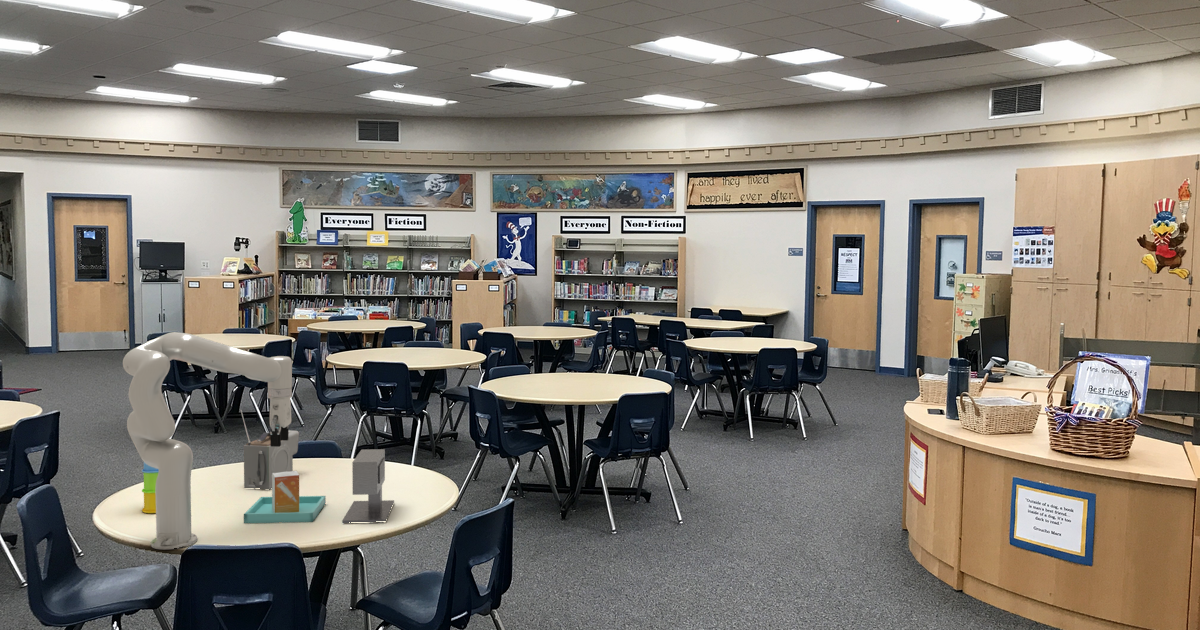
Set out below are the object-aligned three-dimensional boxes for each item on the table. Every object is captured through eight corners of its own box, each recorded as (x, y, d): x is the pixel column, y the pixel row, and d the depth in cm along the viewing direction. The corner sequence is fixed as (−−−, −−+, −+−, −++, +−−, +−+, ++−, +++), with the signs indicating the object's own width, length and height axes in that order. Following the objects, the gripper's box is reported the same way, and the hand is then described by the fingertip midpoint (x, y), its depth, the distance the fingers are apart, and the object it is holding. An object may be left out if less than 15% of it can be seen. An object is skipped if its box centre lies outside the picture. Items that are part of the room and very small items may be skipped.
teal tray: (312, 521, 275) (312, 512, 275) (243, 523, 272) (243, 514, 272) (325, 504, 295) (325, 495, 295) (261, 505, 292) (261, 496, 292)
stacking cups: (136, 514, 280) (134, 413, 277) (150, 505, 290) (148, 407, 288) (168, 514, 281) (166, 413, 278) (180, 505, 291) (178, 407, 288)
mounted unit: (385, 523, 275) (385, 463, 274) (342, 524, 273) (341, 463, 272) (394, 503, 297) (394, 447, 295) (354, 504, 295) (353, 448, 294)
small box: (274, 515, 279) (274, 477, 278) (272, 510, 284) (271, 472, 283) (299, 512, 283) (299, 474, 282) (296, 507, 288) (296, 470, 287)
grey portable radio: (300, 475, 333) (299, 401, 331) (268, 491, 310) (267, 411, 308) (272, 473, 335) (271, 399, 333) (238, 489, 311) (237, 410, 309)
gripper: (284, 397, 272) (284, 448, 272) (297, 389, 289) (297, 438, 290) (260, 396, 271) (260, 448, 272) (275, 389, 288) (275, 438, 289)
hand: (279, 443), depth 281 cm, fingers open, 9 cm apart
